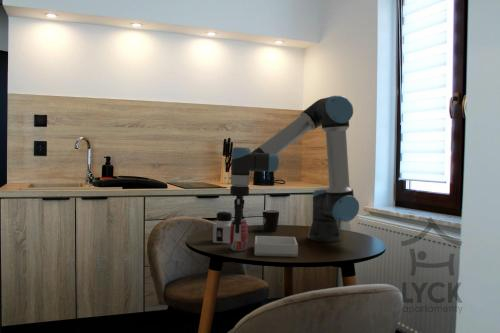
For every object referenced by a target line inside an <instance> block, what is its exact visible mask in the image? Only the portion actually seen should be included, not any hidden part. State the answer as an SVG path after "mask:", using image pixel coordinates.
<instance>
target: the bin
mask: <svg viewBox="0 0 500 333" xmlns="http://www.w3.org/2000/svg"><path fill="white" fill-rule="evenodd" d="M298 255H299V244H298V241H297V239H296V237H295V236H273V235H255V238H254V256H256V257H257V256H258V257H259V256H262V257H291V258H293V257H295V258H298V257H299V256H298Z"/></svg>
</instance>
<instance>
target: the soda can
mask: <svg viewBox="0 0 500 333" xmlns="http://www.w3.org/2000/svg"><path fill="white" fill-rule="evenodd" d="M232 222H234V219H232V220H231V225H230V244H229V247H230V249H231V250H232V251H234V252H244V251H245V250H247V248H248V235H249V234H248V232H249V230H248V228H249V227H248V223H247V220H246V219H243V220H242V219H241V241H234V225H233V224H232Z"/></svg>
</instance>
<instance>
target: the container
mask: <svg viewBox="0 0 500 333" xmlns="http://www.w3.org/2000/svg"><path fill="white" fill-rule="evenodd" d="M232 217H233V216H232V213H231V212H229V211H219V212H217V213H216V223H215V224H213V226H212V228H213V229H212V243H215V244H229V245H230V225H231V223H232V220H233V219H232Z"/></svg>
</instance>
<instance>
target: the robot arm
mask: <svg viewBox="0 0 500 333" xmlns="http://www.w3.org/2000/svg"><path fill="white" fill-rule="evenodd" d="M353 114H354V107H353V104H352V102H351V101H350V100H349V99H348V98H347V97H346V96H343V95H331V96H329V97H324V98H320V99H317V100H316V101H314V102H313V103H312V104H310V105H309V106H308V107H307V108H306V109H304V110H303V111H302V112H300V114H299V117H297V118H296V119H295V120H293V121H292V122H291V123H289V124H288V125H286V126H285V127H283V129H281V130H280V131H278V132H277V133H276V134H274V135H273V136H271V137H270V138H269V139H268V140H266V141H265V142H264V143H262V144H261V145H260V146H258V147H257V148H255V149H254V150H252V151H251V148H250V147H241V146H239V147H235V146H234V147H233V148H232V151H231V158H230V160H231V161H230V164H231V166H230V169H231V170H230V176H229V180H230V185H231V186H230V196H233V197H235V196H236V198H235V199H234V202H233V204H234V207H233V209H234V217H233V218H234V219H233V220H234V222H232V221H231V223H232V224H233V225H234V241H241V219H242V220H245V216H244V208H245V206H244V205H245V199H244V197H247V196H249V195H250V177H251V176H250V174H251V173H250V172H268V173H270V172H276V171H278V168H279V166H280V164H279V163H280V162H279V160H280V159H279V156H278V154H280V153H282V151H284V150H285V149H286V148H288V147H289V146H291V145H292V144H293V143H294V142H296V141H297V140H299V138H301V137H302V136H304V135H306V134H307V133H308V132H309V131H314V130H316V129H317V128H319V127H320V126H321V129H322V130H323V131H324V132H325V141H326V154H327V168H328V169H327V170H328V182H329V183H328V185H329V187H328V188H326V189H315V190H314V191H313V193H312V221H311V225H310V228H309V230H308V233H307V237H308V239H309V240H310V241H311V240H312V241H316V242H325V243H326V242H329V243H332V242H339V241H341V240H342V234H341V233H342V232H341V230H340V226H339V222H341V223H348V222H351V221H352V220H354V219H355V218H356V217H357V216H358V214H359V211H360V202H359V201H358V199H357V198H356V196H354V189H353V188H352V186H350V176H349V175H350V173H349V172H350V171H349V159H348V158H349V156H348V144H347V143H348V141H347V130H348V129H349V128H350V120H351V119H352V117H353Z"/></svg>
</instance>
